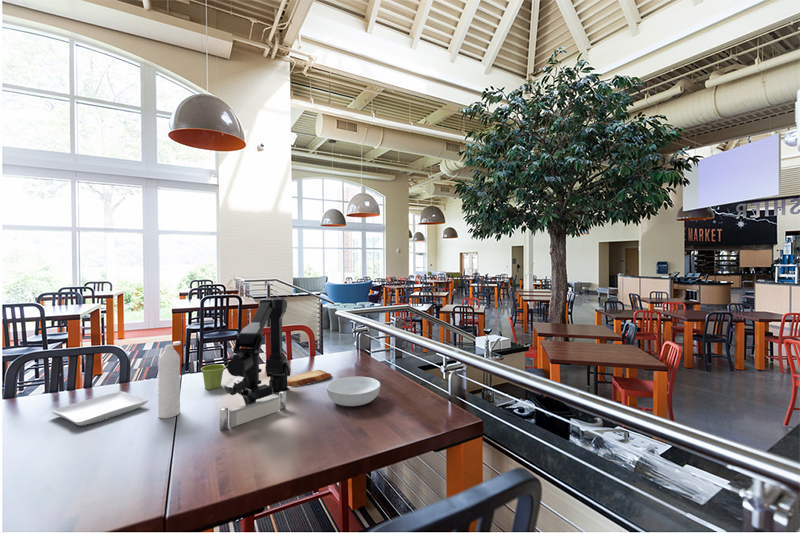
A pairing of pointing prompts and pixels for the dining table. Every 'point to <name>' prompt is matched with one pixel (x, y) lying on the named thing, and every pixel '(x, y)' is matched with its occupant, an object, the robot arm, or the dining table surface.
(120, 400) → the salad plate
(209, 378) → the plant pot
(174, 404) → the water bottle
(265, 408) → the bar
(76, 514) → the dining table surface
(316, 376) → the bread slice
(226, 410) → the post
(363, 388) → the serving bowl
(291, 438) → the dining table surface
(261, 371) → the robot arm
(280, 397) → the hinge post
